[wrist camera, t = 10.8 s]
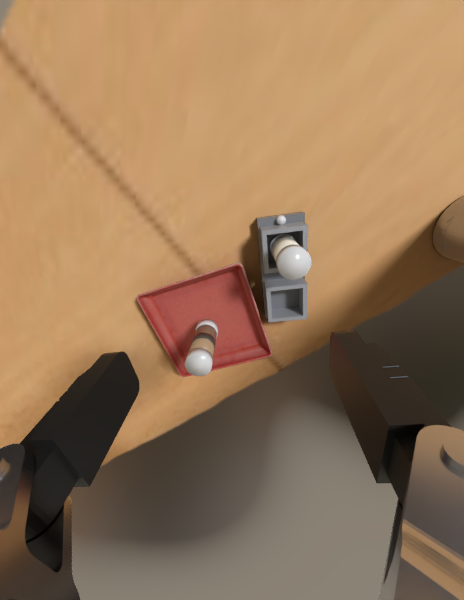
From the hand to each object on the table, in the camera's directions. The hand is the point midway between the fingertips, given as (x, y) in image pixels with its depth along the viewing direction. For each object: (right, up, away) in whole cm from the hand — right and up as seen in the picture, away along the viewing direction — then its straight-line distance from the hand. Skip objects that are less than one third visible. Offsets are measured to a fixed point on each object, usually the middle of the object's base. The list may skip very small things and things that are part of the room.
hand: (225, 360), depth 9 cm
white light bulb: (+7, +10, +24) cm, 27 cm away
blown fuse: (-4, -2, +29) cm, 30 cm away
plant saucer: (-4, -1, +33) cm, 33 cm away
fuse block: (+8, +7, +27) cm, 29 cm away
